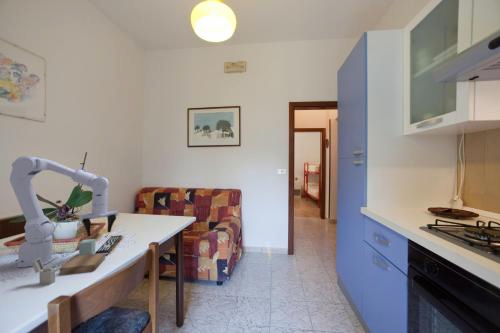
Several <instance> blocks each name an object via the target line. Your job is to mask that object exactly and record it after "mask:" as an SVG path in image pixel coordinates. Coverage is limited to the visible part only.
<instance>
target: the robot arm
mask: <svg viewBox="0 0 500 333" xmlns="http://www.w3.org/2000/svg"><path fill="white" fill-rule="evenodd" d="M11 167H12V169H11V172H10V176H9V182H10V185H11V187H12V189H13V192H14V194H15V197H16V199H17V201H18V205H19V206H20V210H21V211H22V213H23V216H24V218H25V221H26V222H25V225H24V227H23V228H24V230H25V232H24V239H25V241H23V242H22V243H21V244H20V246H19V248H18V253H17V254H18V258H17V259H18V260H17V261H18V264H17V265H16V268H25V267H33V265H32V263H31V262H32V261H34V260H37V259H39V258H40V260H41V262H42V264H43V266H44V265H48V264H49V263H51V262H52V261H53V260H55V259H56V258H57V257H58V255H53V241H54V240H53V239H54V238H53V234H54V233H55V231H56V225H55V224H54V223H52V221H50V218H49V217H47V216H46V215H45V214H44V212H43V209H42V206H41V203H40V202H39V199H38V197H37V194H36V192H35V189H34V186H33V184H32V181H31V180H32V179H33V178H34V177H35V176H36V175H37V174H39V173H41V172H42V171H51V172H55V173H58V174H61V175H64V176H66V177H70V178H72V181H73V182H75V183H77V184H80V185H83V186H86V187H89V188H91V189H92V193H91V194H92V195H91V196H92V197H91V198H92V199H91V200H92V201H91V202H92V203H91V213H87V214H81V215H78V220H79V221H80V222H82V224H83V226H84V227H85V228H84V229H85V230H86V235H87V237H90V236H91V226H92V225H91V224H92V221H91V220H92V219H99V218H106V217H107V229H106V230H107V232H108V233H111V231H112V228H113V225H114V223H115V221H116V219H117V216H119V211H118V210H111V211H108V200H109V198H108V196H109V192H108V188H109V186H110V181H109V180H108V178H106V177H105V176H100V175H99V174H94V173H92V172H89V170H88V169H78V170H75V169H73V168H70V167H68V166H66V165H63V164H61V163H58V162H56V161H53V160H51V159H47V158H43V157H40V156H28V155H23V156H19V157H18V158H16V159H15V160H14V161H13V162H12V163H11Z"/></svg>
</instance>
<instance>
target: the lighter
mask: <svg viewBox="0 0 500 333" xmlns="http://www.w3.org/2000/svg"><path fill="white" fill-rule="evenodd" d="M31 263H32V265H33V266H32V268H33V269H34V272H35V273H36V274H37V273H39V285H52V284H54V283H55V282H56V269H55V268H53V269H52V267H51V266H46V267H44V265H43V264H42V262H41V260H40V258H39V259H37V260H34V261H32V262H31Z"/></svg>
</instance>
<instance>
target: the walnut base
mask: <svg viewBox="0 0 500 333" xmlns="http://www.w3.org/2000/svg"><path fill="white" fill-rule="evenodd" d="M104 261H106V252H102V253H93V254H89V255H79V254H78V255H74V256H72V258H71V259H69V260H68V261H67V262H66V263H64V264H63V265H62V266H60V268H59V276H64V275H65V276H66V275H71V274H72V275H73V274H82V273H83V274H84V273H91V272H95V271H96V270H97V269H98V268H99V267H100V266H101V264H103V263H104Z"/></svg>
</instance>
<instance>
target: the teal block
mask: <svg viewBox="0 0 500 333" xmlns="http://www.w3.org/2000/svg"><path fill="white" fill-rule="evenodd" d="M78 247H79V248H78V255H89V254H95V252H96V238H93V239H91V238H90V239H82V241H80V242H79V244H78Z"/></svg>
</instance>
